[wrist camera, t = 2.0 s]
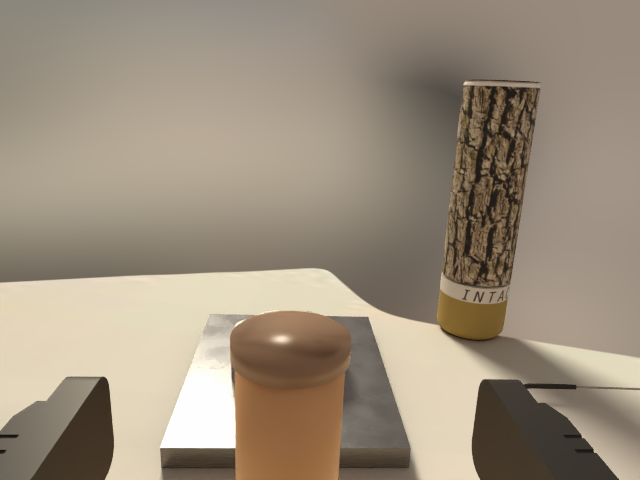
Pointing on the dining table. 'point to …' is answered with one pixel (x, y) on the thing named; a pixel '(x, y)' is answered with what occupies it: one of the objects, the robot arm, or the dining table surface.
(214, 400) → the plate
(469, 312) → the paper tube
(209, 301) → the dining table surface
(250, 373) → the capped orange cylinder
